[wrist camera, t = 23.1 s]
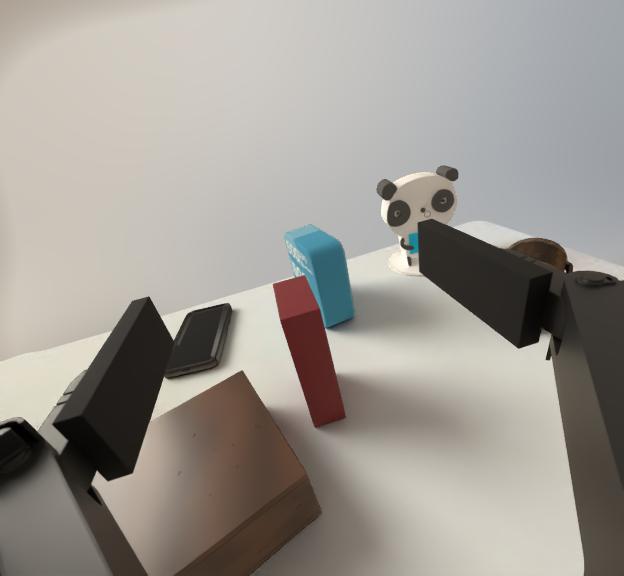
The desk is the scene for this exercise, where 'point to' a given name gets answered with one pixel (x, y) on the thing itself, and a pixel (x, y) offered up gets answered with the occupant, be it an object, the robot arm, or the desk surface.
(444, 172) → the panda figurine
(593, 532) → the robot arm
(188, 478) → the box
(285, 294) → the card box
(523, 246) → the vintage travel clock
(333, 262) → the data package
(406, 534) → the desk surface
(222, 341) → the phone
